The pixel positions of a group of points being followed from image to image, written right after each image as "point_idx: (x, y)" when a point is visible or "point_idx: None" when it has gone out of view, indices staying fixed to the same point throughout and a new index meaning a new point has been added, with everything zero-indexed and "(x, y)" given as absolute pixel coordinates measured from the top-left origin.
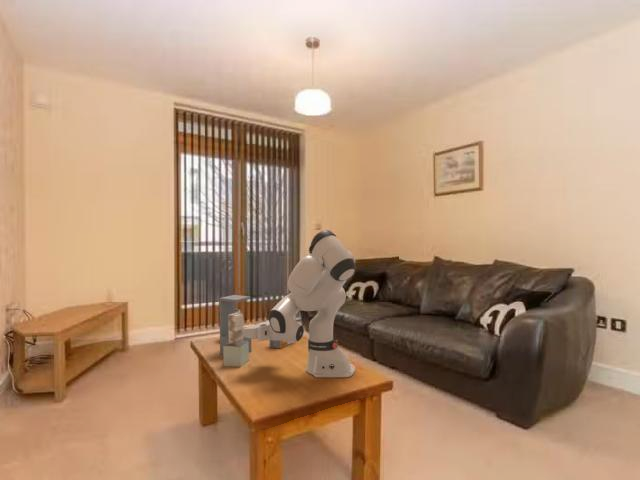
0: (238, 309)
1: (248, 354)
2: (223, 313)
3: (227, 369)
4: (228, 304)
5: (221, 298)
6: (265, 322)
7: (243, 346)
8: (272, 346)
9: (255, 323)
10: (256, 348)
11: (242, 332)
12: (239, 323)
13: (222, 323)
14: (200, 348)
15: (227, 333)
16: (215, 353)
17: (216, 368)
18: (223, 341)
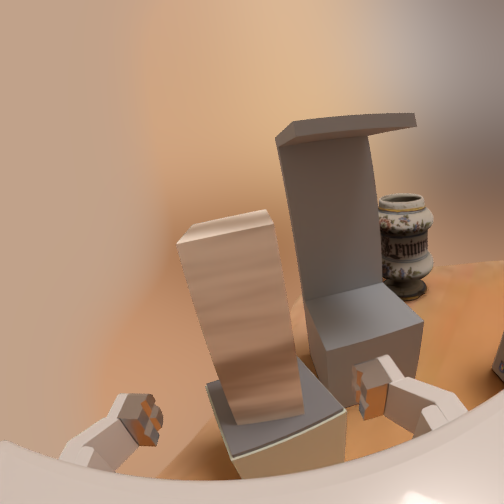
0: (420, 195)
1: (342, 453)
2: (304, 206)
3: (203, 479)
4: (330, 166)
5: (276, 137)
6: (449, 479)
7: (275, 450)
8: (499, 375)
9: (357, 369)
10: (443, 365)
11: (287, 368)
12: (237, 308)
13: (304, 250)
14: (301, 300)
15: (336, 290)
16: (303, 342)
17: (194, 441)
18: (308, 322)
